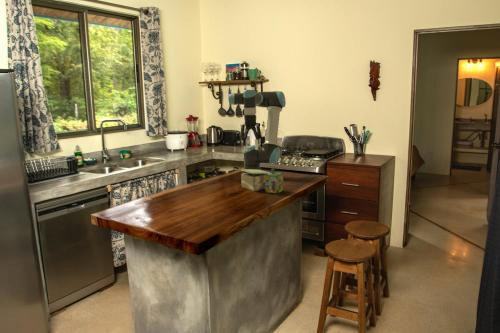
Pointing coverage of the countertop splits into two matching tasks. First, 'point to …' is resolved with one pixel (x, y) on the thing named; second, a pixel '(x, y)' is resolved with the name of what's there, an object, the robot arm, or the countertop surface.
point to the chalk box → (273, 182)
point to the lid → (254, 171)
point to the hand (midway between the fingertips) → (251, 150)
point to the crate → (253, 181)
